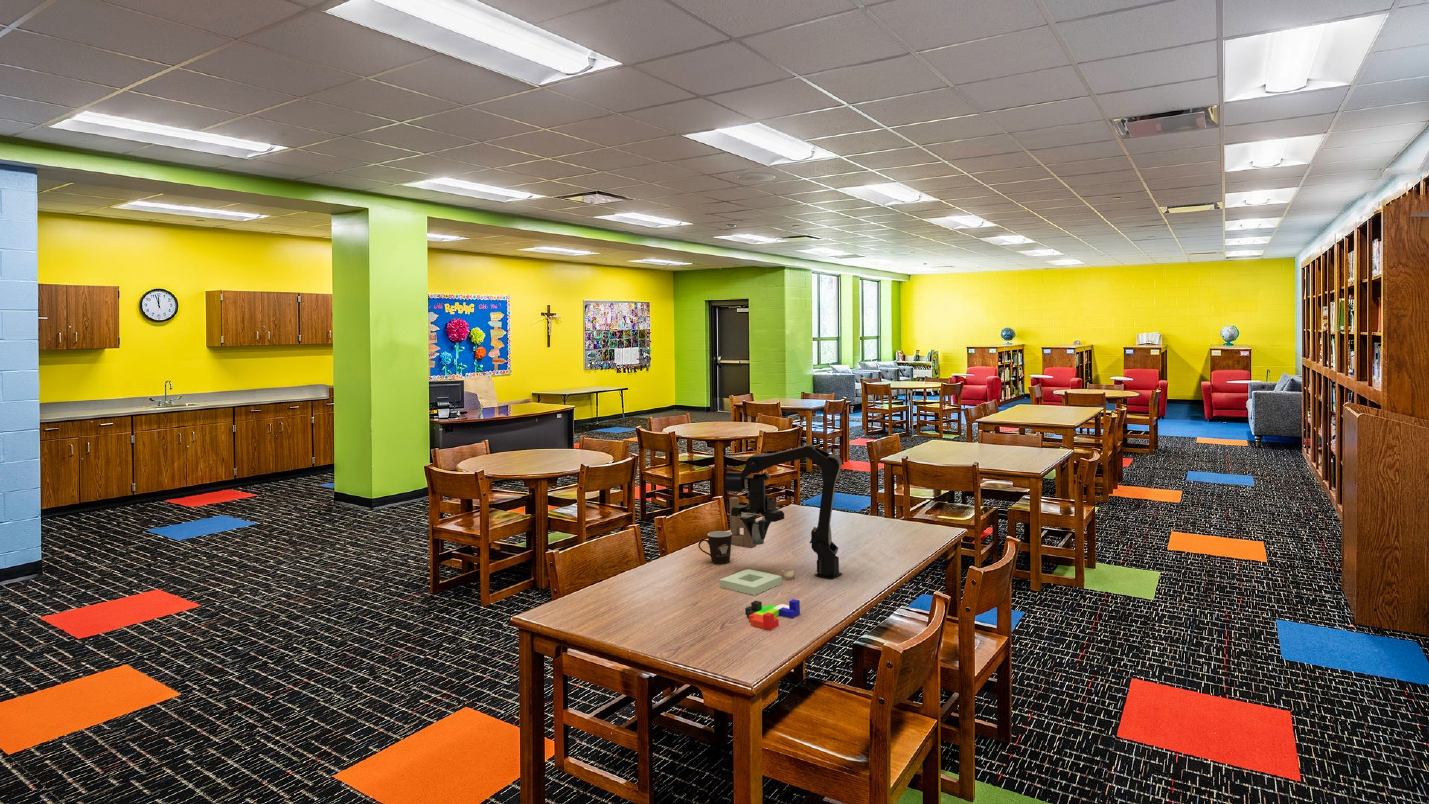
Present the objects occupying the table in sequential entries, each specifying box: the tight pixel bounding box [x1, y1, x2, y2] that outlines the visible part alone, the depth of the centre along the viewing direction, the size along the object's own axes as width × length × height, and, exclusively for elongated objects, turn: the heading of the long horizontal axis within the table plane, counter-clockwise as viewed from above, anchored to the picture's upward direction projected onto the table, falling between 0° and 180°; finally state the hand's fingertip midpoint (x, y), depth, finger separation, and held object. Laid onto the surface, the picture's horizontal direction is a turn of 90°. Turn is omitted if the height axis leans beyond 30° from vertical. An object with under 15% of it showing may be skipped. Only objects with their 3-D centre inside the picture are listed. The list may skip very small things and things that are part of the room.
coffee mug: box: [697, 530, 732, 565], centre depth 275 cm, size 12×9×10 cm
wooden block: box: [728, 496, 757, 549], centre depth 297 cm, size 4×11×18 cm, turn 51°
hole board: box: [719, 568, 783, 596], centre depth 247 cm, size 14×14×2 cm
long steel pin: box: [752, 520, 765, 546], centre depth 261 cm, size 4×4×7 cm
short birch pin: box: [781, 568, 795, 581], centre depth 254 cm, size 4×4×2 cm
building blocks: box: [744, 598, 801, 631], centre depth 218 cm, size 15×13×4 cm
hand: (758, 538), depth 261 cm, fingers closed on long steel pin, 4 cm apart
